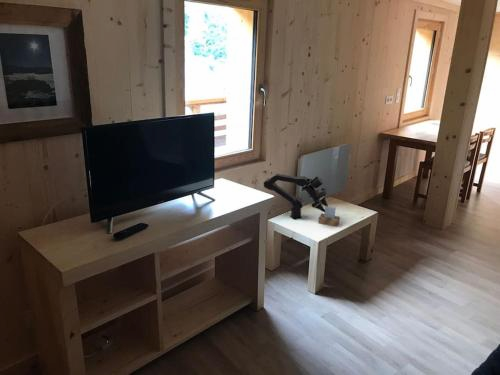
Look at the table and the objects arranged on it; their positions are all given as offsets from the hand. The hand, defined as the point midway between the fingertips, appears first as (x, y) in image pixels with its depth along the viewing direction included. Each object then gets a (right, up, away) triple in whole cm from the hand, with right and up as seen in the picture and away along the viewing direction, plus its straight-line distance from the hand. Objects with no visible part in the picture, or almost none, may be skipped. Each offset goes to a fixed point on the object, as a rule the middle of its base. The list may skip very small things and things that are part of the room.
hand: (326, 209), depth 285 cm
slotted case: (+2, -10, +2) cm, 10 cm away
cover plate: (+2, -8, +2) cm, 8 cm away
